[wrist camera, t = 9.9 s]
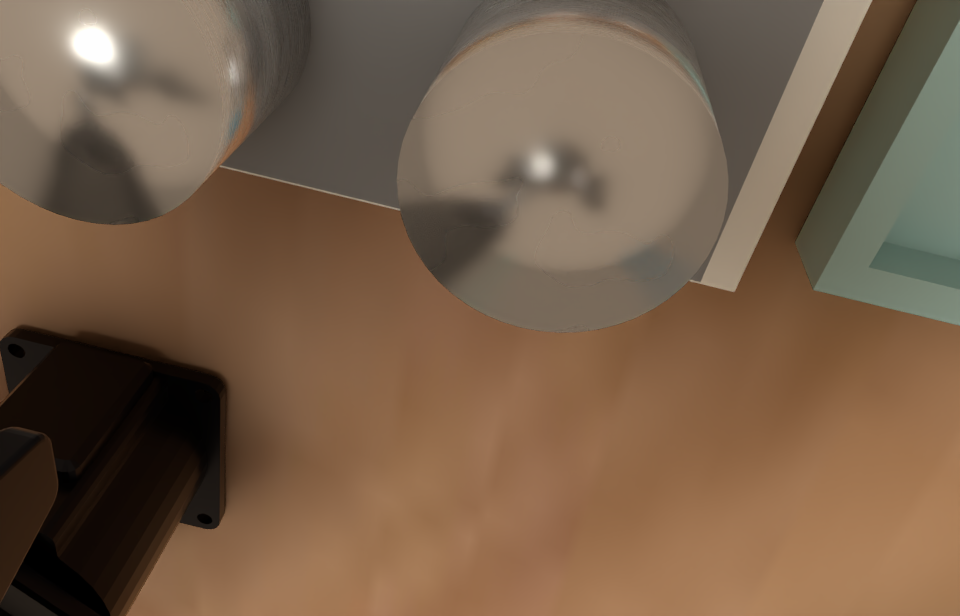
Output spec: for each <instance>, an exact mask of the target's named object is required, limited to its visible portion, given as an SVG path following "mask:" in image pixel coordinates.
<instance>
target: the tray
mask: <svg viewBox="0 0 960 616" xmlns="http://www.w3.org/2000/svg"><path fill="white" fill-rule="evenodd" d="M795 244H796V247H797V250H798V252H799V255H800V257H801V260H802V262H803V265H804V268H805V270H806V273H807V275H808V278H809V280H810V283H811V286H812V288H813V290H816V291H820V292H824V293H828V294H832V295H836V296H840V297H844V298H848V299H853V300H857V301H861V302H865V303H869V304H873V305H877V306H881V307H885V308H890V309H894V310H898V311H902V312H906V313H910V314H914V315H918V316H922V317H926V318H931V319H935V320H939V321H943V322H947V323H951V324H955V325H959V326H960V0H917V2H916V4H915V6H914V8H913V10H912V11H911V13H910V15H909V17H908V19H907V21H906V23H905V25H904V27H903V29H902V31H901V33H900V35H899V37H898V39H897V41H896V43H895V45H894V47H893V49H892V51H891V53H890V55H889V57H888V59H887V61H886V63H885V65H884V67H883V69H882V71H881V73H880V75H879V77H878V79H877V81H876V83H875V85H874V87H873V89H872V91H871V93H870V95H869V97H868V99H867V101H866V103H865V105H864V107H863V109H862V111H861V113H860V114H859V116H858V118H857V120H856V122H855V124H854V126H853V128H852V130H851V132H850V134H849V136H848V138H847V140H846V142H845V144H844V146H843V148H842V150H841V152H840V154H839V156H838V158H837V160H836V162H835V164H834V166H833V168H832V170H831V172H830V174H829V176H828V178H827V180H826V182H825V184H824V186H823V188H822V190H821V192H820V194H819V196H818V198H817V200H816V202H815V204H814V206H813V208H812V210H811V212H810V214H809V215H808V217H807V219H806V221H805V223H804V225H803V227H802V229H801V231H800V233H799V235H798V237H797V239H796V241H795Z"/></svg>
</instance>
